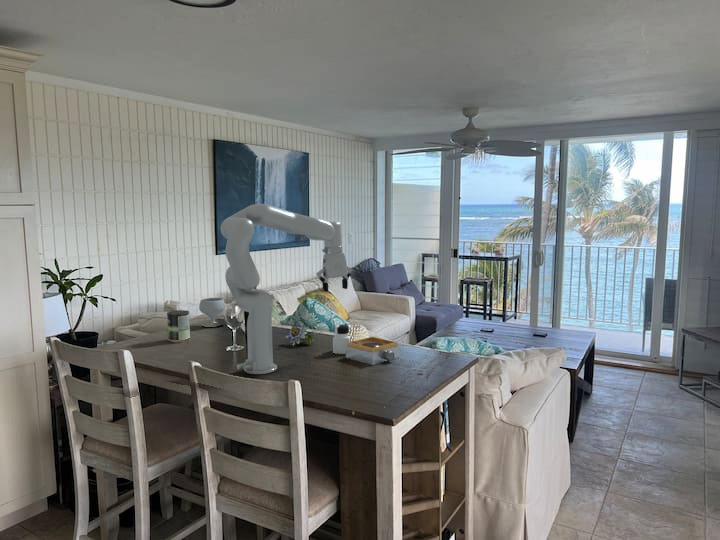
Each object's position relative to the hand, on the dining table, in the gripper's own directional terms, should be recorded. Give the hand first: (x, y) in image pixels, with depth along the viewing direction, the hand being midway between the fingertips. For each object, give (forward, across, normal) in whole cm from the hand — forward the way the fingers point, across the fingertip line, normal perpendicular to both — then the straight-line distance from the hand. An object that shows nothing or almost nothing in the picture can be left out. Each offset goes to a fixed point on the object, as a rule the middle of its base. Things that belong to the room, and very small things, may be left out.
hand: (335, 290), depth 220 cm
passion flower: (+28, -7, +24) cm, 37 cm away
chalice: (+27, -27, +89) cm, 97 cm away
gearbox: (+28, +8, -17) cm, 34 cm away
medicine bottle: (+28, +2, 0) cm, 28 cm away
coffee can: (+26, -51, +66) cm, 87 cm away
